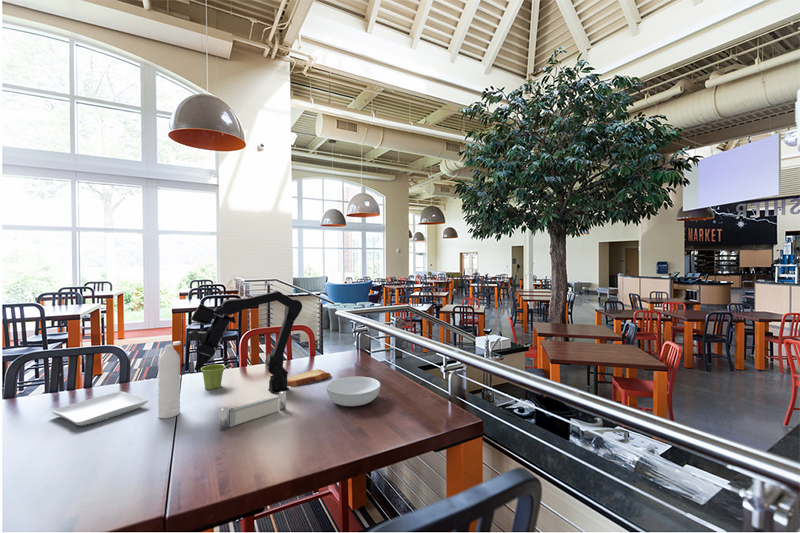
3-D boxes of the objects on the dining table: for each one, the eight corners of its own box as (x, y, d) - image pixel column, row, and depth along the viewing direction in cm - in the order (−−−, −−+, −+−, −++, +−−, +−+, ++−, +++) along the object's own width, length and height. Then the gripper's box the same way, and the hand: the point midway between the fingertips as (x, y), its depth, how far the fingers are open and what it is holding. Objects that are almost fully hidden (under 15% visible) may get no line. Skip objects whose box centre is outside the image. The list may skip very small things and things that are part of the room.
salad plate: (49, 419, 121) (49, 409, 121) (121, 398, 140) (121, 389, 140) (77, 432, 111) (77, 422, 111) (150, 408, 130) (150, 399, 130)
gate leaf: (276, 409, 127) (276, 395, 127) (279, 411, 126) (279, 396, 126) (228, 425, 115) (228, 409, 115) (230, 426, 114) (230, 410, 114)
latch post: (226, 426, 115) (226, 406, 115) (229, 428, 113) (229, 408, 113) (218, 428, 113) (218, 409, 113) (221, 431, 111) (221, 411, 111)
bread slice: (282, 387, 153) (282, 378, 153) (296, 374, 171) (296, 366, 171) (323, 388, 152) (323, 379, 152) (332, 375, 170) (332, 367, 170)
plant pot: (227, 382, 157) (227, 363, 157) (222, 389, 148) (222, 369, 148) (204, 384, 155) (204, 365, 155) (197, 391, 146) (197, 371, 146)
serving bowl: (383, 393, 145) (383, 376, 145) (375, 414, 124) (375, 395, 124) (335, 391, 147) (335, 374, 147) (319, 412, 126) (319, 393, 126)
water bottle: (172, 418, 120) (172, 346, 120) (153, 418, 120) (153, 346, 120) (187, 408, 129) (187, 341, 129) (170, 408, 129) (170, 341, 129)
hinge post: (283, 407, 130) (283, 390, 130) (287, 409, 128) (287, 392, 128) (277, 409, 128) (277, 392, 128) (281, 411, 126) (281, 393, 126)
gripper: (199, 319, 142) (179, 356, 139) (192, 324, 125) (170, 365, 121) (226, 329, 146) (208, 365, 142) (224, 335, 129) (202, 376, 125)
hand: (197, 367), depth 133 cm, fingers open, 9 cm apart
